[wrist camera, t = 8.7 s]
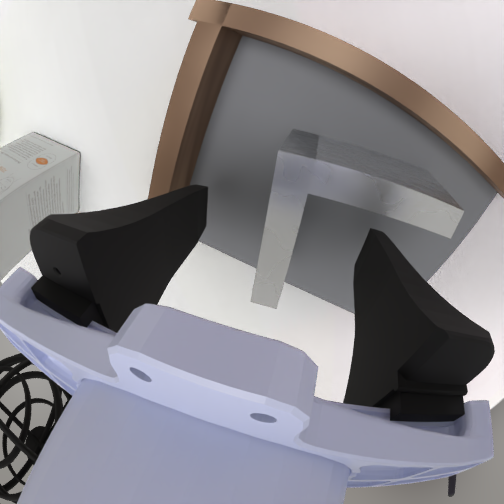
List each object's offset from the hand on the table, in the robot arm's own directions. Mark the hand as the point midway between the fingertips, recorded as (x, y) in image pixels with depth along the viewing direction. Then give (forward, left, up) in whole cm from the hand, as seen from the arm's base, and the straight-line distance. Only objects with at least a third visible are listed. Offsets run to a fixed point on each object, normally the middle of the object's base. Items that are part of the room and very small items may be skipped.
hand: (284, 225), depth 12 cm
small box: (+21, +7, -5) cm, 22 cm away
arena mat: (-2, -1, -5) cm, 6 cm away
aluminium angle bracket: (-3, 0, -5) cm, 6 cm away
